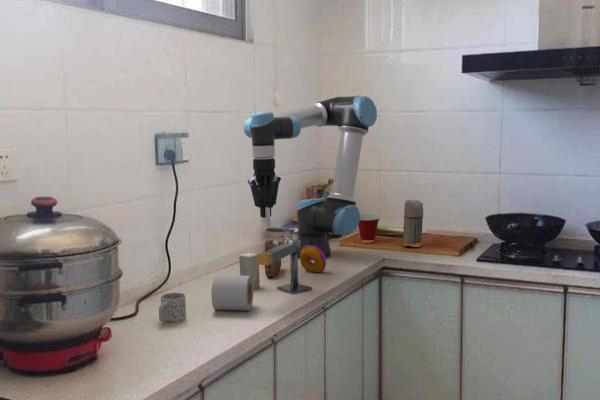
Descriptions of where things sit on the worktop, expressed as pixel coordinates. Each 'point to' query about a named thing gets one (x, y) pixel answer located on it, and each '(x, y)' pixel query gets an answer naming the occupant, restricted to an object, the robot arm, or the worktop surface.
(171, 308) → the mug
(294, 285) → the post
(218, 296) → the toilet paper
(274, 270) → the tin
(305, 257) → the donut
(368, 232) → the plastic cup
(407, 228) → the grey thermos bottle
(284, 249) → the bar
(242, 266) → the box
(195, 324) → the worktop surface
